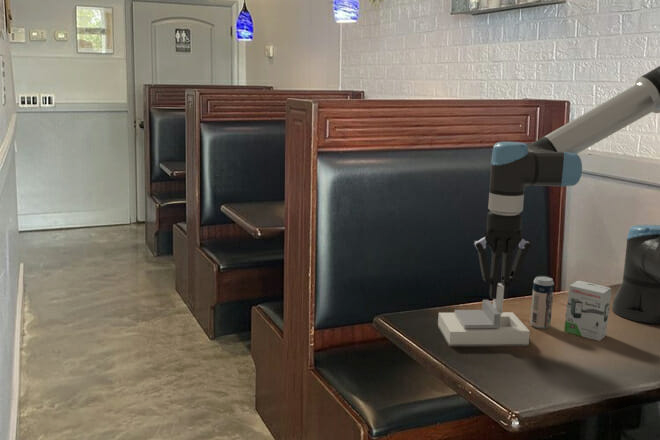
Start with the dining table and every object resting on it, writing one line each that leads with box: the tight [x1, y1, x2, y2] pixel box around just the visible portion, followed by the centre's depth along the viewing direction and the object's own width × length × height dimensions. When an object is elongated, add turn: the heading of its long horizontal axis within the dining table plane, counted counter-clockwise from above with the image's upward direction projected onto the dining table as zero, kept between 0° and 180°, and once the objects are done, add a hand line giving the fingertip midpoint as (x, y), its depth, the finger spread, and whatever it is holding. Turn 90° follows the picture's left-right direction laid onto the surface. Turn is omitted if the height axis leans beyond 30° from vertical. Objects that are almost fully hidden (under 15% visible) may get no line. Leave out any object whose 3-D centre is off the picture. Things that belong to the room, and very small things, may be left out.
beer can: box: [529, 275, 555, 329], centre depth 165 cm, size 5×5×12 cm
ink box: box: [563, 280, 613, 342], centre depth 161 cm, size 9×5×12 cm, turn 50°
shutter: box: [453, 299, 501, 328], centre depth 159 cm, size 8×10×3 cm
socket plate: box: [437, 311, 531, 347], centre depth 160 cm, size 18×12×4 cm, turn 93°
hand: (497, 311), depth 159 cm, fingers closed
